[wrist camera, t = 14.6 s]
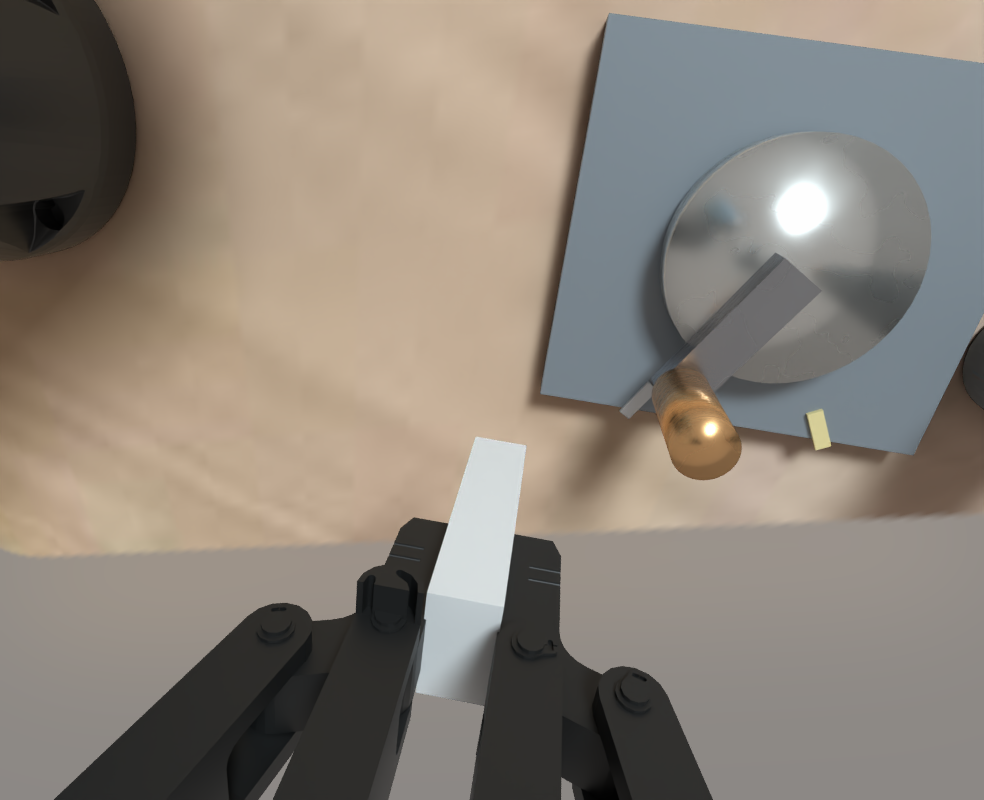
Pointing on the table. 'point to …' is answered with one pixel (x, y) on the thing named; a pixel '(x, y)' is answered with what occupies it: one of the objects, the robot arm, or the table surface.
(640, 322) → the board
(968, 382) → the bottle
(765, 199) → the dial
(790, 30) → the table surface
